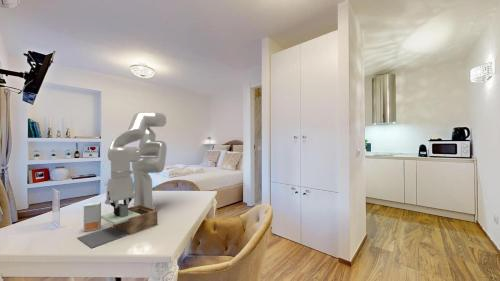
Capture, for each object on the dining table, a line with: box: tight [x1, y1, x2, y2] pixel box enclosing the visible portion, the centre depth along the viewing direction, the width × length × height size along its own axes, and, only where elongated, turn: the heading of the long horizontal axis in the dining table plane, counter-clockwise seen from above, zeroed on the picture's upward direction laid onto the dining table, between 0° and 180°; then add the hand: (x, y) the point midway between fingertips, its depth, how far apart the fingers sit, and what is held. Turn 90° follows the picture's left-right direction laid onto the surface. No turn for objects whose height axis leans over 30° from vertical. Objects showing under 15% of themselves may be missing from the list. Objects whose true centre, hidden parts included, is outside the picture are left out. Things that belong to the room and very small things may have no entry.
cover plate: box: [101, 203, 141, 225], centre depth 95 cm, size 11×13×6 cm
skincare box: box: [83, 201, 102, 233], centre depth 97 cm, size 6×4×12 cm
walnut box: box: [112, 205, 158, 236], centre depth 101 cm, size 13×16×7 cm
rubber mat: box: [76, 226, 128, 249], centre depth 89 cm, size 15×13×1 cm
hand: (121, 214), depth 95 cm, fingers closed on cover plate, 2 cm apart
